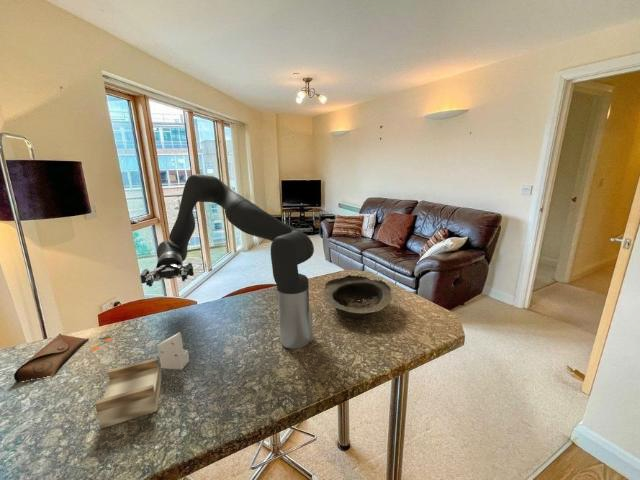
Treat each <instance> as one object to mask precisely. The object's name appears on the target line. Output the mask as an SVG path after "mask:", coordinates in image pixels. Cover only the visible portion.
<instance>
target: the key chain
mask: <svg viewBox="0 0 640 480" xmlns="http://www.w3.org/2000/svg"><path fill="white" fill-rule="evenodd" d="M108 332H110V333H109V335H106V336H104V337H102V334H105V333H108ZM113 332H114V330H107V331H104V332H101V333H100V337H98V339H100V342H102V344H100V345H98V346H94V347H92V348H90V349H89V352H87V353H85V355H86V356H87V355H89V354H90V353H92V352H93V351H97V350H98V349H99V347H102V345H104V344H105V343H108V344H109V345H112V344H113V340H114V339H113V337H111V336H112V334H113Z"/></svg>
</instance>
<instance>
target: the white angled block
mask: <svg viewBox="0 0 640 480" xmlns="http://www.w3.org/2000/svg"><path fill="white" fill-rule="evenodd" d="M157 353H158V359H159V362H160V363H159V364H160V369H168V370H170V369H171V370H183V369H184V367H186V365H187V364H188V362H190V356H189V350H187V349H184V346H183V339H182V334H181V331H178V332H177V333H176V334H174V335H172V336H170V337H167V338H166V339H165V340H163V341H161V342H160V343H159V344H158V345H157Z"/></svg>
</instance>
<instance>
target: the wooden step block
mask: <svg viewBox="0 0 640 480" xmlns="http://www.w3.org/2000/svg"><path fill="white" fill-rule="evenodd" d="M159 362H160V360H159V357H155V358H151V359H147V360H143V361H139V362H135V363H132V364H126V365H124V366H120V367H115V368H111V369H109V370H108V371H107V374H108V379H109V381H108V384H107V386H106V389H105V391H104V394H103V397H102V398H100V399H97V400H96V401H95V404H94V407H95V410H96V412H97V413H96V414H97V417H98V421H99V425H100V429H105V428H107V427H110V426H114V425H117V424H120V423H122V422H123V423H125V422H126V421H129V420H133V419H137V418H139V417H142V416H146V415H148V414H152V413H156V412H157V411H158V407H159V401H160V394H161V385H162V374H161V373H162V371H161V366H160V363H159Z"/></svg>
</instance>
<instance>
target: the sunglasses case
mask: <svg viewBox="0 0 640 480" xmlns="http://www.w3.org/2000/svg"><path fill="white" fill-rule="evenodd" d="M88 340H89V338H83V337H78V336H71V335H67V334H62V333H59V334H58V335H57V336H56V337H55V338H53V339H52V340H51V341H50V342H48V343H47V344H45V346H43V347H42V348H41V349H40V350H39V351H37V352H36V353H35V354H34V355H33V356H31V358H29V359H28V360H27V361H26V362H25V363H24V364H22V365H21V366H20V367H18V368H17V369H16V371H15V372H14V375H13V378H14V381H15V382H17V383H19V382H21V383H23V382H22V381H26V380H31V379H37V378H42V379H44V378H43V377H47V376H52V377H54V376H55V375H56V374H57V373H58V372H59V371H60V369H61V368H62V367H63V366H64V365H65V363H66V362H67V361H68V360H69V359H70V358H71V357H72V356H73V355H74V354H75V353H76V352H77V351H78V350H79V349H80V348H81V347H82V346H83V345H85V344H86V343H87V342H88ZM61 366H62V367H61ZM60 367H61V368H60ZM59 368H60V369H59ZM56 372H57V373H56ZM53 375H54V376H53ZM37 380H38V379H37ZM31 381H32V380H31ZM26 382H27V381H26Z"/></svg>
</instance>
